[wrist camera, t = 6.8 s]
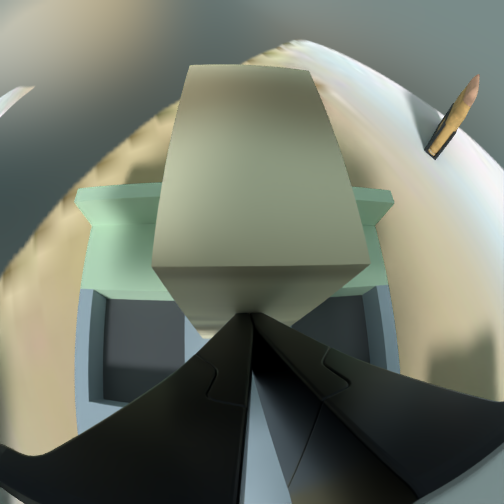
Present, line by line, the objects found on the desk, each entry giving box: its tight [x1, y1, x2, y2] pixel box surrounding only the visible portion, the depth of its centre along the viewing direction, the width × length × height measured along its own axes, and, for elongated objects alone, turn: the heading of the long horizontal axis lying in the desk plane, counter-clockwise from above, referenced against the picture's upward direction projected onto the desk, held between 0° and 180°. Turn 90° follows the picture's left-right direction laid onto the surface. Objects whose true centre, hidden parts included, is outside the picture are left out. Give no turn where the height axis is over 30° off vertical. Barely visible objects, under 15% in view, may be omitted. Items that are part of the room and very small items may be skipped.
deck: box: [74, 182, 400, 504], centre depth 14 cm, size 19×20×6 cm
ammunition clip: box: [424, 74, 479, 160], centre depth 24 cm, size 11×2×12 cm, turn 137°
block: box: [151, 65, 371, 339], centre depth 11 cm, size 7×4×11 cm, turn 2°
